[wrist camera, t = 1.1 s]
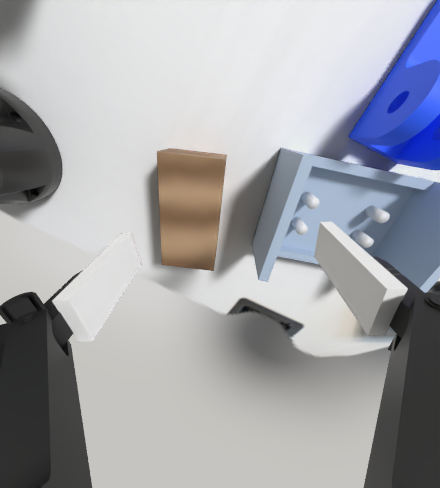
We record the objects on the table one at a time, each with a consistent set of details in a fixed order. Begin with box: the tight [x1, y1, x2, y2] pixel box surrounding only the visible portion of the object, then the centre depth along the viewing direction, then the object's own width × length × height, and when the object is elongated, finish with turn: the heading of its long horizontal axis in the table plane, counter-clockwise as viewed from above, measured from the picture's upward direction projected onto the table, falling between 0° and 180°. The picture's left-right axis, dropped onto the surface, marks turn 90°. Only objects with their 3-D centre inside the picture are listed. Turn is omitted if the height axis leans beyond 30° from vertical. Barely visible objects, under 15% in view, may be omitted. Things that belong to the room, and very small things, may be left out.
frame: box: [252, 148, 440, 293], centre depth 28 cm, size 21×15×10 cm
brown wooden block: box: [157, 148, 227, 271], centre depth 30 cm, size 16×8×6 cm, turn 174°
